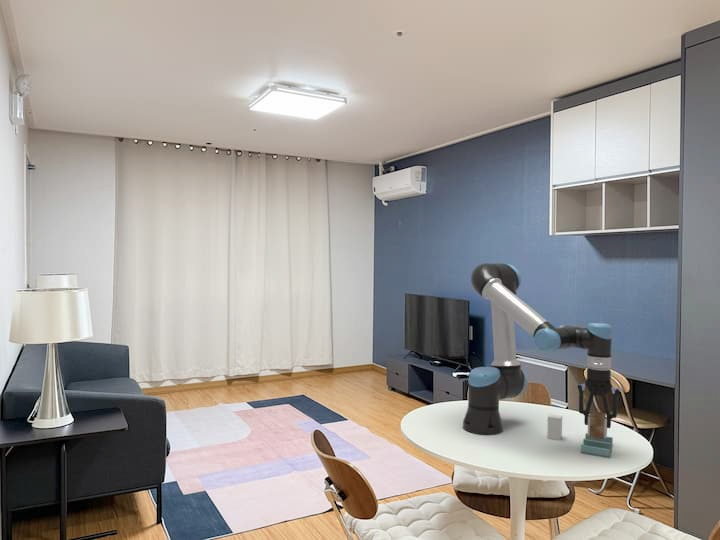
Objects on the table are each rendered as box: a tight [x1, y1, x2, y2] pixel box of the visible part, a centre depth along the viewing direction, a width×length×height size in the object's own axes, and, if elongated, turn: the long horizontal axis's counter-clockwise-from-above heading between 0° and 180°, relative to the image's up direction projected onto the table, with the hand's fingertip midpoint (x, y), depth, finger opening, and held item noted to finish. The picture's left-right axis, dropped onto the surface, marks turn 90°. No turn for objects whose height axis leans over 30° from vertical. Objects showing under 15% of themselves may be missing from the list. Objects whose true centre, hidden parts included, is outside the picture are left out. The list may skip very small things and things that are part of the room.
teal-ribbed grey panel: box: [580, 432, 614, 459], centre depth 193 cm, size 9×16×3 cm, turn 152°
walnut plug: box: [589, 410, 606, 439], centre depth 189 cm, size 4×4×8 cm
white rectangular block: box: [546, 413, 563, 441], centre depth 204 cm, size 4×4×8 cm
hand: (597, 435), depth 189 cm, fingers closed on walnut plug, 4 cm apart
